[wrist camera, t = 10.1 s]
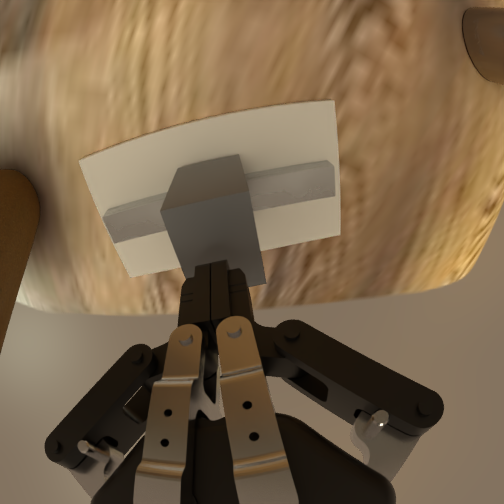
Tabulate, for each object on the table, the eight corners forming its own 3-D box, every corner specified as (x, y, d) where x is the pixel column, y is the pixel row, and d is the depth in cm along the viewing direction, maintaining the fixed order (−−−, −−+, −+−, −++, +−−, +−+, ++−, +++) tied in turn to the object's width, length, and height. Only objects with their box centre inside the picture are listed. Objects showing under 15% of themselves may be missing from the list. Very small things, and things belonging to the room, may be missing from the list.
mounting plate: (329, 99, 18) (334, 100, 17) (336, 229, 25) (340, 234, 24) (83, 157, 18) (78, 160, 18) (132, 271, 25) (130, 277, 25)
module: (239, 154, 19) (249, 190, 13) (252, 225, 22) (266, 283, 17) (177, 168, 19) (159, 211, 13) (198, 236, 22) (193, 297, 17)
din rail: (327, 160, 20) (334, 166, 19) (328, 188, 22) (335, 196, 20) (108, 209, 20) (102, 217, 19) (119, 234, 22) (114, 243, 21)
